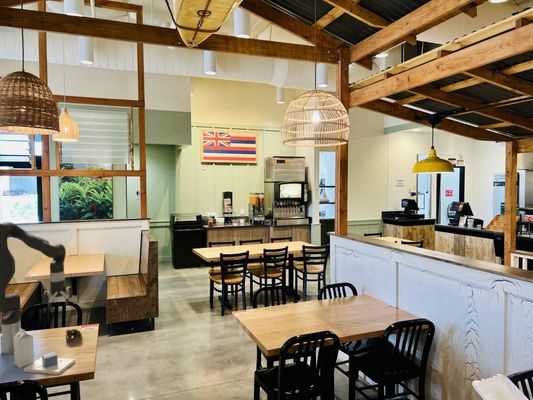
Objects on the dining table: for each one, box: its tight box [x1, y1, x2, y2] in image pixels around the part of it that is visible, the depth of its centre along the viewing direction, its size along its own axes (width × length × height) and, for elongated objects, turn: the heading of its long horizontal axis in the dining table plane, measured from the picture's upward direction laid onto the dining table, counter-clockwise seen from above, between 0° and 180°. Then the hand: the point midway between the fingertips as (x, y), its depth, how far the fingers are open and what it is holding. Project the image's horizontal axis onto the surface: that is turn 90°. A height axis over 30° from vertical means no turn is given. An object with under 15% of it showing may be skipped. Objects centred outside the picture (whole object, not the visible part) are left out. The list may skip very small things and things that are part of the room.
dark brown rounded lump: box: [65, 328, 83, 345], centre depth 234 cm, size 12×10×8 cm
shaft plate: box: [23, 356, 76, 375], centre depth 203 cm, size 20×13×5 cm, turn 81°
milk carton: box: [13, 328, 35, 369], centre depth 206 cm, size 7×7×19 cm
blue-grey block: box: [41, 350, 58, 368], centre depth 203 cm, size 6×6×5 cm
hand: (58, 306), depth 220 cm, fingers open, 8 cm apart
